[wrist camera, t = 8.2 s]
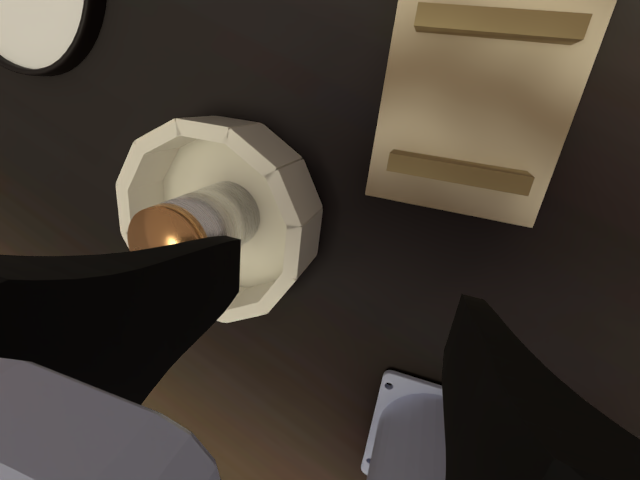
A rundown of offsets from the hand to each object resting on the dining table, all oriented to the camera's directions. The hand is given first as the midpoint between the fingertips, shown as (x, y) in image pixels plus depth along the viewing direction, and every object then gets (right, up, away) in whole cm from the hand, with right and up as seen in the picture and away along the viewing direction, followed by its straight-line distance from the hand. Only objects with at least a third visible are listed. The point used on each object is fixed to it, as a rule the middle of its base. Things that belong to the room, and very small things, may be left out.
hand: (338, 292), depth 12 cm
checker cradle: (+6, +8, +5) cm, 12 cm away
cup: (-6, +3, +11) cm, 13 cm away
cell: (-6, +3, +11) cm, 13 cm away
